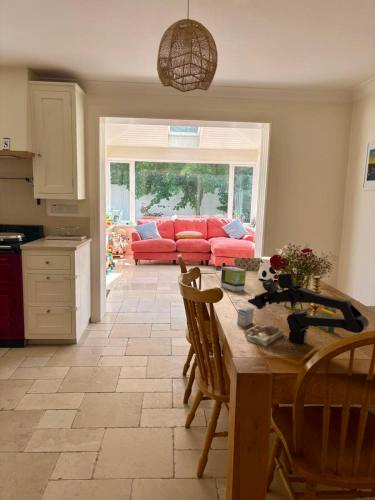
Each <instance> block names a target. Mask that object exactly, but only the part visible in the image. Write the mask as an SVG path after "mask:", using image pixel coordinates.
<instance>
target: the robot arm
mask: <svg viewBox="0 0 375 500" xmlns="http://www.w3.org/2000/svg"><path fill="white" fill-rule="evenodd" d="M277 276H278V280H277V282H278V286H279V287H278V286H277V284H276V283H275V281H273V280H272V279H271V278H270V279H268V280H266V281H263V282H262V283H261V284H262V288H263V289H264V290H265V292H263V293H258V294H256V295H255V296H254V297H253V298H249V299H247V303H249V304H250V305H253V306H254V307H256V309H257V310H263V309H264V308H266V306H267V303H268V305H272V304H276V305H279V304H283V303H290V307H294V306H297V304H298V303H301V304H317V305H320V306H323V307H324V306H327V307H331V308H334V309H336V310H340V312H341V314H342V317H341V316H340V317H339V316H336V317H326V316H320V315H310V314H308V310H300V309H298V310H296V311H294V312H292V313H290V314H288V315H287V317H286V322H287V325H288V329H289V334H288V341H290V342H292V343H294V344H297V345H305V344H306V343H307V336H308V330H309V328H310V326H313V327H318V326H323V327H334V329H337V328H338V329H342V330H344V331H347V332H351V333H354V334H360V333H362V332H363V331H365V330H366V329H368V327H369V326H370V325H369V319H368V318H367V317H366V316H364V315H363V314H362V312H361V311H360V310H359V309H358V308H356V307H355V306H354V305H353V303H352V301H350V300H348V299H342V298H339V297H334V296H329V295H325V294H321V293H317V292H315V291H314V290H312V289H310V288H307V287H303V286H302V285H299V284H298V283H295V281H294V273H293V272H285V273H280V274H277ZM331 308H330V309H331Z"/></svg>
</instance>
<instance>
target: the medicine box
mask: <svg viewBox="0 0 375 500" xmlns="http://www.w3.org/2000/svg"><path fill="white" fill-rule="evenodd" d="M237 310H238V311H237V323H236V324H237V325H239V326H242V327H246V326H249V325H251V324H253V319H254V308H253V307H251V306H250V307H249V306H247V305H246V306H244V307H240V308H239V309H237Z"/></svg>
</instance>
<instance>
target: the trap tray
mask: <svg viewBox="0 0 375 500" xmlns="http://www.w3.org/2000/svg"><path fill="white" fill-rule="evenodd" d="M267 326H268V325H267V324H265V325H263V326H260V325H259V324H256V325H254V326H252V327H250V328H248V329H247V330H245V332H244V333H245V335H244V336H245V337H246V341H248V342H250V343H254V344H256V345H261V346H263V347H267V346H268V345H270V344H271V343H273V342H274V341H276V340H278V339H279V338H280V337H282V336H283V335H284V329H279V332H277V333H276V334H274V335H273V336H272V335H269V334H265V328H266V327H267Z"/></svg>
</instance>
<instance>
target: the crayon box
mask: <svg viewBox="0 0 375 500" xmlns="http://www.w3.org/2000/svg"><path fill="white" fill-rule="evenodd" d="M336 315H337V309H335V308H331V307H327V306H323V308H321V309H320V311H319V316H326V317H337V316H336ZM317 327H318V328H319V327H320V328H319V329H321V328H323V329H322V330H324V329H325V330H324V331H326V330H328V331H330V332H329V333H333V332H332V331H334V332H335V327H323V326H317ZM328 331H327V332H328Z"/></svg>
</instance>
